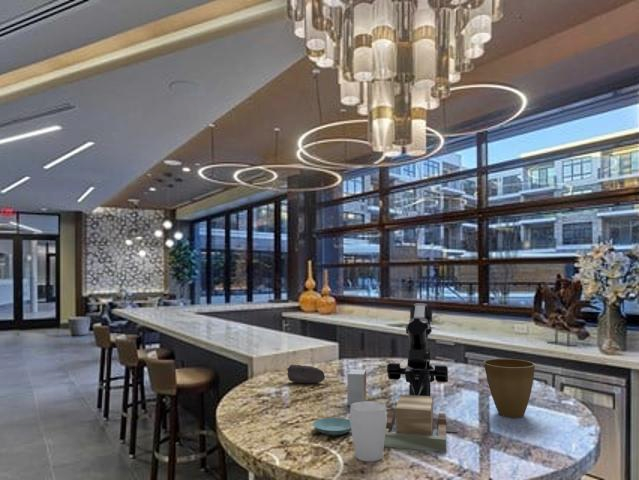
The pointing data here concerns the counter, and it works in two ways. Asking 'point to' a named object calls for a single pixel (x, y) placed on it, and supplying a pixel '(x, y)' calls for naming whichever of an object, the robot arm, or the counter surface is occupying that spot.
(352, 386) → the small box
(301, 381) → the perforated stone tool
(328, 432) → the saucer
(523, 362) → the plant pot
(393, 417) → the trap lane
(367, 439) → the cup
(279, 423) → the counter surface
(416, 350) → the robot arm
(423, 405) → the walnut block
